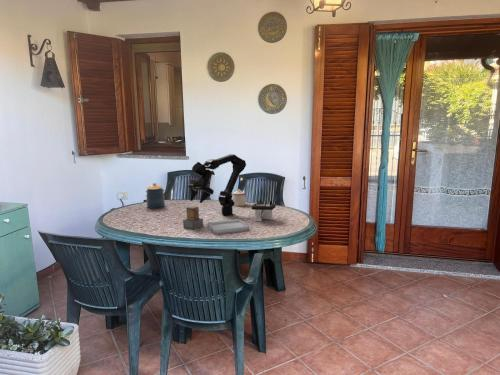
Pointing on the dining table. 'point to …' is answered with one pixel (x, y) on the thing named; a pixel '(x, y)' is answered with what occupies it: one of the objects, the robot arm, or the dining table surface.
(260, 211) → the black-topped pedestal
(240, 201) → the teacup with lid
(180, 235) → the dining table surface
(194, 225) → the charcoal open-top box
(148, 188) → the canister
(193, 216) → the walnut block
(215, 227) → the plastic tray
